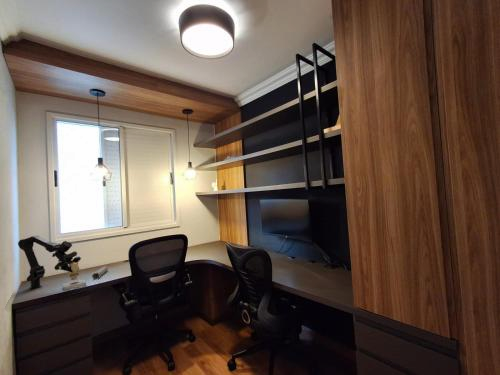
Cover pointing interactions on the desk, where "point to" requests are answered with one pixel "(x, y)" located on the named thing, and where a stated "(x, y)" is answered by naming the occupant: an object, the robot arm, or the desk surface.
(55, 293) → the desk surface
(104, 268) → the tube
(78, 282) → the housing
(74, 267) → the cover
